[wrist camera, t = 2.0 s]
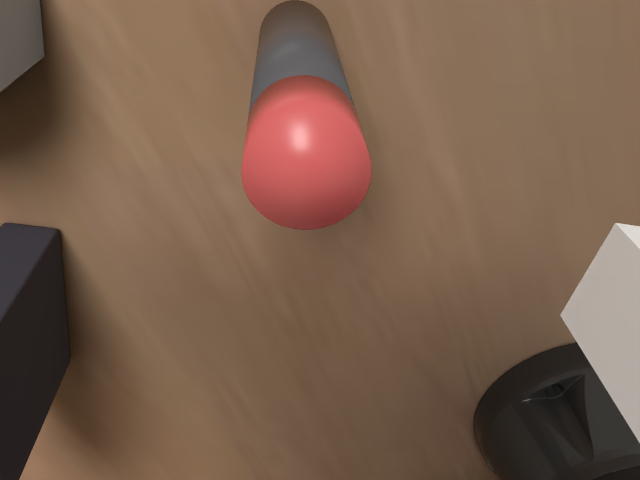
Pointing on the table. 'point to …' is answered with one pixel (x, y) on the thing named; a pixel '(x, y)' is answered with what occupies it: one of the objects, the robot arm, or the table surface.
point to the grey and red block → (29, 338)
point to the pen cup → (19, 38)
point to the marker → (302, 125)
